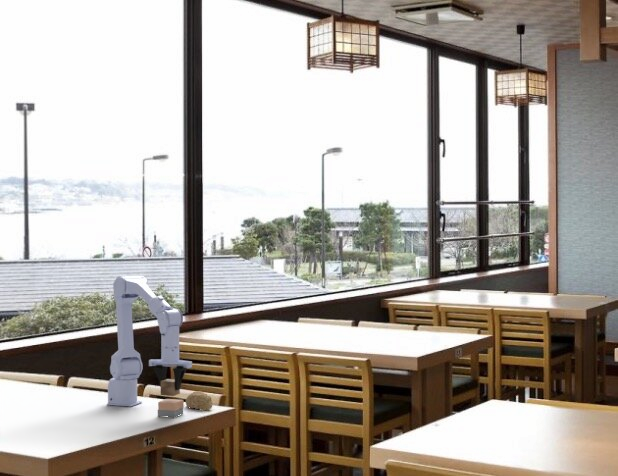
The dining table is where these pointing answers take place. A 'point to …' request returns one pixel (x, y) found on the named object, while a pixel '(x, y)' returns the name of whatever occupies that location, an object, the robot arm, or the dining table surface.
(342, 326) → the dining table surface
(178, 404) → the slab top
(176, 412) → the slab bottom
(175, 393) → the walnut block
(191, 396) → the stone tool
